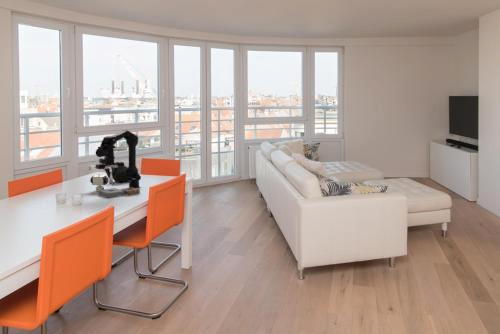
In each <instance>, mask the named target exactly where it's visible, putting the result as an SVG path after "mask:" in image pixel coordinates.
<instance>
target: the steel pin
mask: <svg viewBox="0 0 500 334" xmlns="http://www.w3.org/2000/svg"><path fill="white" fill-rule="evenodd" d="M108 180H109V181H108V183H109V186H110V185H114V179H113V174H112V171H110V178H108Z"/></svg>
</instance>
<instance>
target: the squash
mask: <svg viewBox="0 0 500 334" xmlns="http://www.w3.org/2000/svg"><path fill="white" fill-rule="evenodd" d="M117 167H119V168H117V170H116V172H115V174H114V177H113V182H115V183H122V182H127V183H129V180H128V179H127V176H126V169H127V168H128V167H129V166H128V167H127V166H126V165H124V166H122V167H120V166H117Z"/></svg>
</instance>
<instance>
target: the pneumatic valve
mask: <svg viewBox="0 0 500 334" xmlns="http://www.w3.org/2000/svg"><path fill="white" fill-rule="evenodd" d="M89 181H90V184H91V185H92V186H95V191H96V192H99V191H98V190H104V189H105V185H107V184H108V183H109V178H108V176H107V175H101V174H99V173H98V175H96V174H95V175H92V176H91V177H90V180H89Z"/></svg>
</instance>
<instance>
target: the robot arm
mask: <svg viewBox="0 0 500 334" xmlns="http://www.w3.org/2000/svg"><path fill="white" fill-rule="evenodd" d="M122 139H124V140H125V141H126V145H127V146H128V168H127V169H126V176H127V179H128V180H129V181H128V188H131V187H133V188H136V189H139V188H140V189H141V186H140V180H141V179H142V176H141V175H140V173H139V169H138V168H137V165H136V164H137V163H136V162H137V158H136V156H137V155H136V151H137V146H138V143H139V136H138V135H137V134H135V133H133V132H132V131H130V130H127V129H126V130H124V129H123V130H122V131H120V132H117V133H115V134H113V135H110V136H109V135H108V136H107V135H106V136H105V137H103V139H102V141H101V143H100V146H98V147H97V148H96V149H95V155H96V157H97V158H99V159H98V162H99V163H97V164H95V169H96V170H97V169H98V170H104V172H105V173H106V176H107V178H108V179H109V178H110V172H112V174H113V177H114V174H115V172H116V170H117V168H119V167H117V166H120V167H122V166H125V162H123V161H115V158H116V156H115V149H117V148H116V146H115V145H116V144H117V142H118V141H120V140H122ZM101 157H102V158H101ZM103 157H104V158H103ZM110 169H111V170H110Z"/></svg>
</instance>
